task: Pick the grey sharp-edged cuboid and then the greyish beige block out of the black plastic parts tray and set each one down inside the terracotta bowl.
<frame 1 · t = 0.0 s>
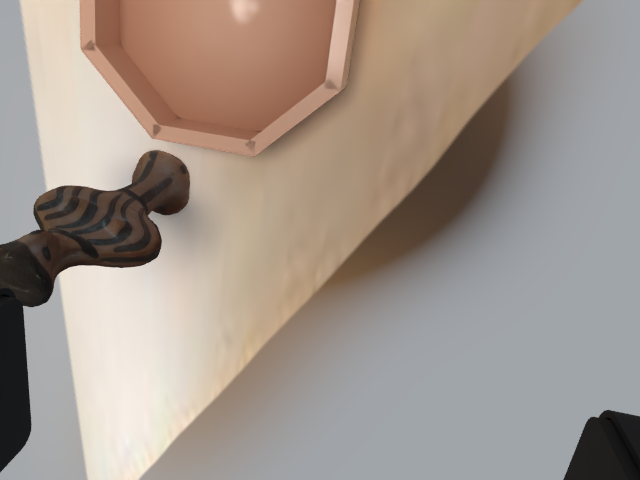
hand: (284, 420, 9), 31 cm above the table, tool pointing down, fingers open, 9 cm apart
bowl: (231, 12, 37), on the table
figurine: (168, 185, 42), on the table
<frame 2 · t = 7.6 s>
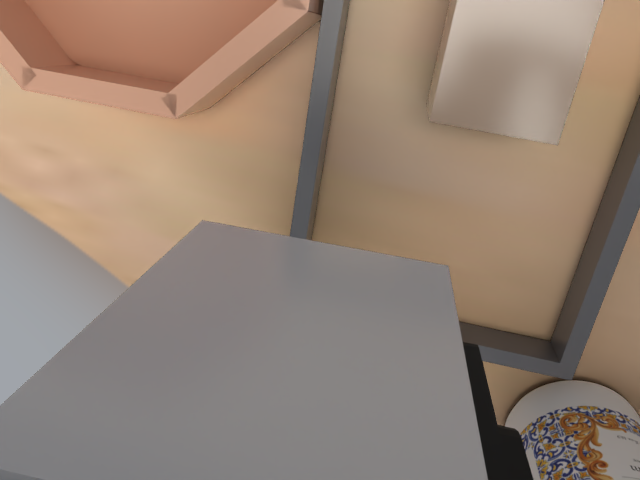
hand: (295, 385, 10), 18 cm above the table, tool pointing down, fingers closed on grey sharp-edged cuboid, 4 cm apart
greyish beige block: (490, 55, 24), resting in tray
grey sharp-edged cuboid: (305, 359, 11), point 17 cm above the table, touching gripper
tray: (467, 145, 25), on the table
bath foam: (567, 427, 30), on the table
when the fingers open (3 cm above the table, at t = 11.6 s): grey sharp-edged cuboid drops 2 cm, resting on bowl.
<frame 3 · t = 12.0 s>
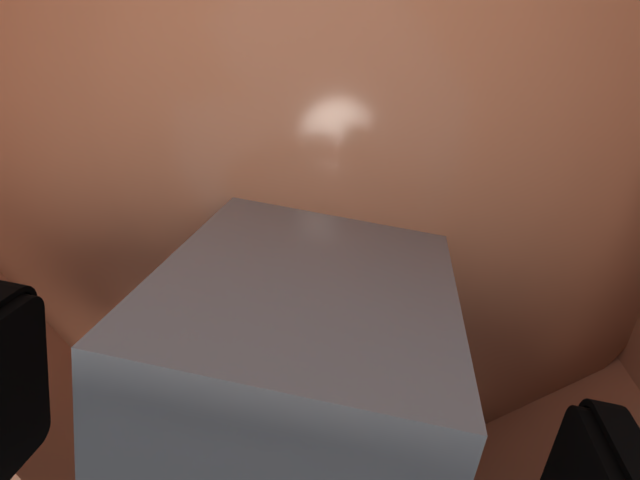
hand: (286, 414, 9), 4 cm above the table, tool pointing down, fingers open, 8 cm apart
bowl: (298, 150, 12), on the table
grey sharp-edged cuboid: (320, 320, 12), point 1 cm above the table, touching bowl
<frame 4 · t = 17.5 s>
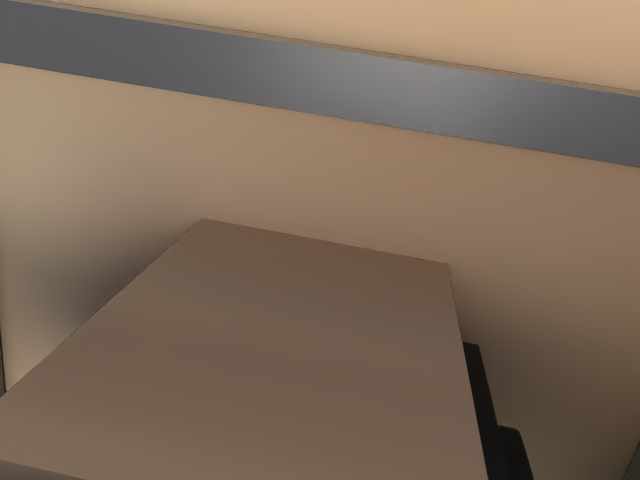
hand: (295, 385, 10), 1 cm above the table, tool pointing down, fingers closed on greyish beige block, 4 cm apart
greyish beige block: (304, 357, 11), resting in tray, touching gripper
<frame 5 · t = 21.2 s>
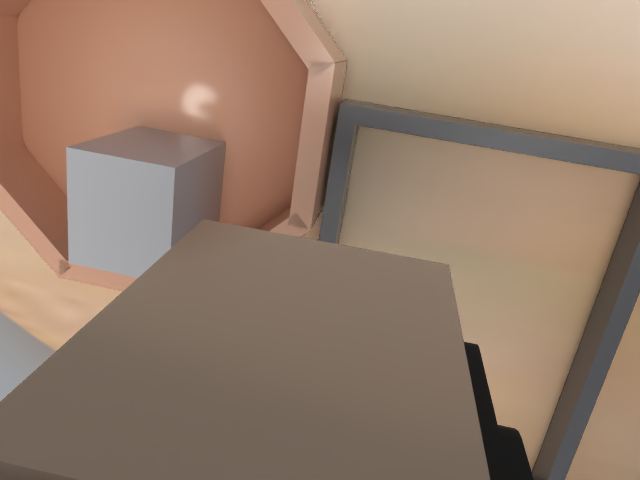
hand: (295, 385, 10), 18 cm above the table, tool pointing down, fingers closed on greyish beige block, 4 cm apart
bowl: (168, 106, 27), on the table
greyish beige block: (305, 358, 11), point 17 cm above the table, touching gripper
grey sharp-edged cuboid: (179, 182, 27), point 1 cm above the table, touching bowl
tray: (452, 313, 28), on the table
when the fingers open (3 cm above the table, at t = 25.1 s): greyish beige block drops 2 cm, resting on bowl.
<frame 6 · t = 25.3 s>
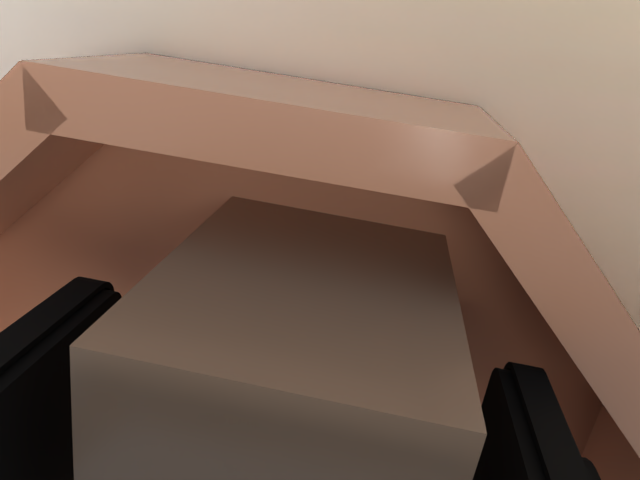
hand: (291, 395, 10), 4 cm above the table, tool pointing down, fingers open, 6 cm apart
bowl: (265, 411, 14), on the table
greyish beige block: (320, 319, 12), point 1 cm above the table, touching bowl
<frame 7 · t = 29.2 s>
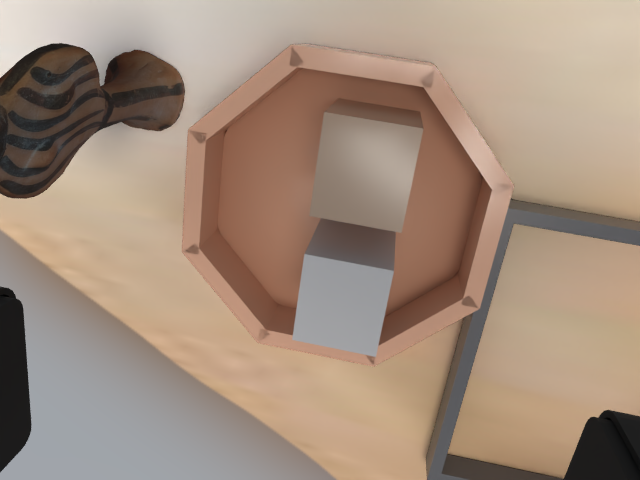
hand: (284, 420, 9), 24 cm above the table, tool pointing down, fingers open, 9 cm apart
bowl: (344, 200, 33), on the table
figurine: (142, 98, 33), on the table
greyish beige block: (371, 149, 31), point 1 cm above the table, touching bowl
grey sharp-edged cuboid: (351, 261, 33), point 1 cm above the table, touching bowl
tray: (573, 364, 34), on the table
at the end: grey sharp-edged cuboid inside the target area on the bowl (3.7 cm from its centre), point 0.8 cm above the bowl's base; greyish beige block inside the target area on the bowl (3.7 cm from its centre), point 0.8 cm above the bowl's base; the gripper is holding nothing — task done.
